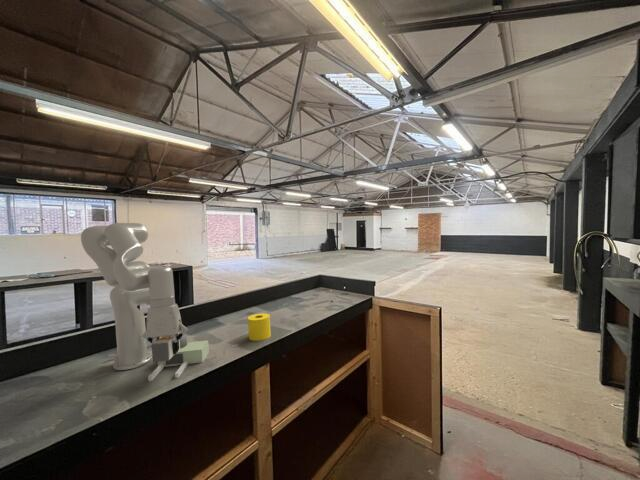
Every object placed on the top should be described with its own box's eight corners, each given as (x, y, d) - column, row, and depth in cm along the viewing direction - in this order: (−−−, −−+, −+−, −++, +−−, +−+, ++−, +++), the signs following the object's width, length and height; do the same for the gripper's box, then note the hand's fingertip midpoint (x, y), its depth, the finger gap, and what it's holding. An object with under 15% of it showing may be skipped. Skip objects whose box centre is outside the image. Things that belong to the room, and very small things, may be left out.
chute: (165, 350, 99) (164, 333, 99) (180, 348, 100) (178, 331, 100) (152, 362, 89) (151, 343, 89) (168, 360, 90) (167, 341, 90)
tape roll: (264, 341, 120) (263, 320, 120) (244, 340, 123) (243, 319, 123) (274, 333, 130) (273, 313, 129) (256, 332, 133) (255, 313, 132)
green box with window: (144, 381, 91) (142, 355, 90) (168, 356, 110) (167, 334, 110) (194, 375, 93) (192, 350, 93) (209, 351, 112) (207, 330, 112)
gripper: (130, 307, 89) (135, 362, 90) (184, 302, 92) (189, 354, 92) (142, 302, 97) (146, 352, 97) (192, 297, 99) (196, 346, 99)
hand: (167, 353), depth 94 cm, fingers closed on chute, 5 cm apart
